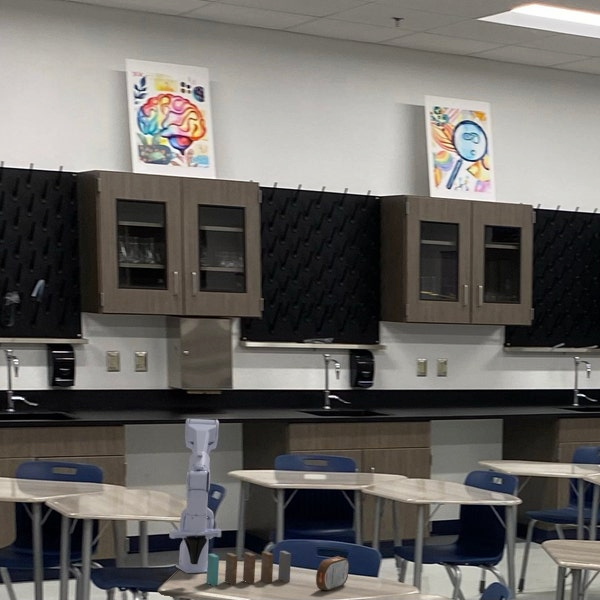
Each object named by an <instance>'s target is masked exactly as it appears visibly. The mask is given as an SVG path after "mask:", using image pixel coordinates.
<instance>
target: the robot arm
mask: <svg viewBox="0 0 600 600" xmlns="http://www.w3.org/2000/svg"><path fill="white" fill-rule="evenodd" d="M219 424H220V421H219V420H218V419H204V418H203V419H199V418H187V419H186V420H185V428H184V429H185V430H184V438H185V445H186V446H185V447H186V448H188V449H189V450H191V452H192V454H191V455H190V456H189V462H188V471H187V473H186V481H185V488H186V489H185V490H186V498H187V499H186V508H184V509H183V510H182V512H180V515H181V516H180V522H179V529H174V530H173V529H172V530H171V529H170V530H169V533H168V534H169V538H170V539H173V540H174V539H182V541H181V543H180V545H179V560H178V564H177V565H175V567H176V568H177V569H179V570H181V571H182V572H184V573H185V574H197V573H199V574H200V573H201V574H202V573H207V564H208V554H209V540H212V538H214V537H217V538H221V537H222V529H220V528H215V527H214V526H215V525H214V522H215V519H214V518H215V517H214V515H215V514H214V512H213V511H212V510H211V509H210V508H209V507H208V503H209V502H208V497H209V492H210V489H211V488H210V487H211V471H210V469H211V468H210V461H211V458H210V453H211V451H212V450H215V449H216V448H217V445H218V440H219V431H220V429H219V428H220V427H219V426H220V425H219ZM207 490H208V491H207Z"/></svg>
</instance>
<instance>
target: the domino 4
mask: <svg viewBox="0 0 600 600" xmlns="http://www.w3.org/2000/svg"><path fill="white" fill-rule="evenodd" d="M291 563H292V553H290V552H288V551H286V550H279V557H278V573H277V574H278V575H277V576H278V577H277V579H278V580H279V579H280V580H279V581H281V580H282V581H281V582H283V583H290V581H291Z"/></svg>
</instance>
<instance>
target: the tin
mask: <svg viewBox="0 0 600 600" xmlns="http://www.w3.org/2000/svg"><path fill="white" fill-rule="evenodd" d="M349 570H350V563H349V560H348V559H347V558H345V557H341V556H340V555H337V556H333V557H330V558H329V557H328V558H326V559H323V560H322V561H321V562H320V564H319V565H318V568H317V570H316V576H315V582H316V583H315V584H316V587H317V588H318V589H319V590H323V591H327V592H328V591H332V590H334V589H339V588H342V587H343V586H344V585H345V584H346V583H347V580H348V577H349Z"/></svg>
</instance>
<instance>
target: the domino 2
mask: <svg viewBox="0 0 600 600" xmlns="http://www.w3.org/2000/svg"><path fill="white" fill-rule="evenodd" d="M243 555H244V556H243V572H242V581H243V580H244V581H246V582H247V583H246V582H245V583H246V584H248V583H249V584H248V585H253V584H252V583H254V584H255V577H256V574H255V573H256V570H255V569H256V558H257V557H256V554H254V553H252V552H249V551H248V552H243ZM244 581H243V582H244Z"/></svg>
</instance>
